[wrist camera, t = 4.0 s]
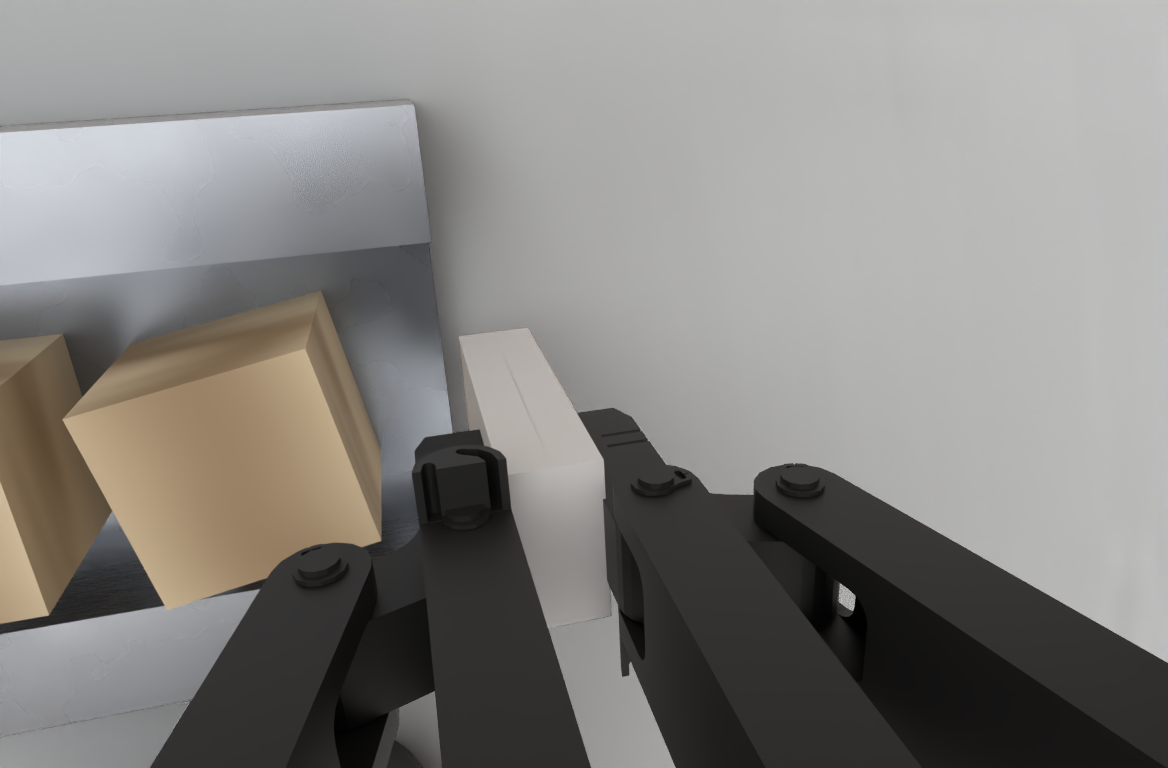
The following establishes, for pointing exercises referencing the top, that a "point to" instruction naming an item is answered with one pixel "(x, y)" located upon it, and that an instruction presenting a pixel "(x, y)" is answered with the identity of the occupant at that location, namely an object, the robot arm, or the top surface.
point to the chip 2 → (233, 447)
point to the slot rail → (199, 295)
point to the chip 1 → (41, 479)
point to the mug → (401, 758)
